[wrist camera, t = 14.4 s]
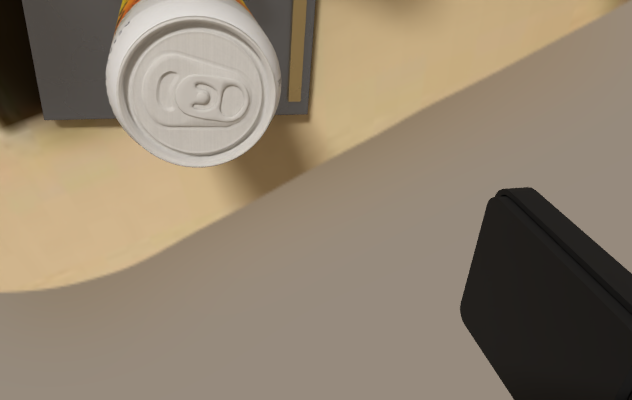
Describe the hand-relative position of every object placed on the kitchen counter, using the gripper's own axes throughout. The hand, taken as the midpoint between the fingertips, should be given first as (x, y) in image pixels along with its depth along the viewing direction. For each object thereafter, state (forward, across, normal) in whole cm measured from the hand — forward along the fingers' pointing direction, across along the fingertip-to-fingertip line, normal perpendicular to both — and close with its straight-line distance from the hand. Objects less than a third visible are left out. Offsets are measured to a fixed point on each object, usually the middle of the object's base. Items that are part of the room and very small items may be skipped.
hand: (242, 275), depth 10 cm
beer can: (+26, 0, +1) cm, 26 cm away
